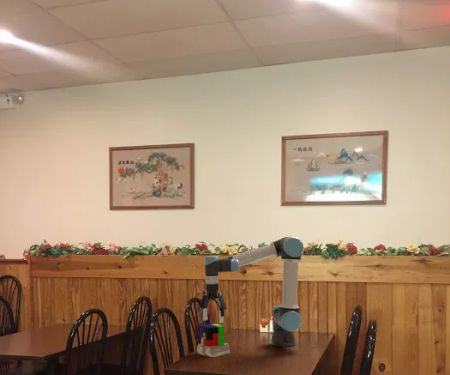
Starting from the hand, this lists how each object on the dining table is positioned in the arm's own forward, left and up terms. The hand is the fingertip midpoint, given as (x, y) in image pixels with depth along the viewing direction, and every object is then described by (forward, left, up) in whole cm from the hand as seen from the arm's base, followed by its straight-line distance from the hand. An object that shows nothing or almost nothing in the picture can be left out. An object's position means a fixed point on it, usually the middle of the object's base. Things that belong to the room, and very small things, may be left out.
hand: (213, 321), depth 267 cm
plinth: (0, 0, -18) cm, 18 cm away
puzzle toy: (0, +1, -13) cm, 13 cm away
